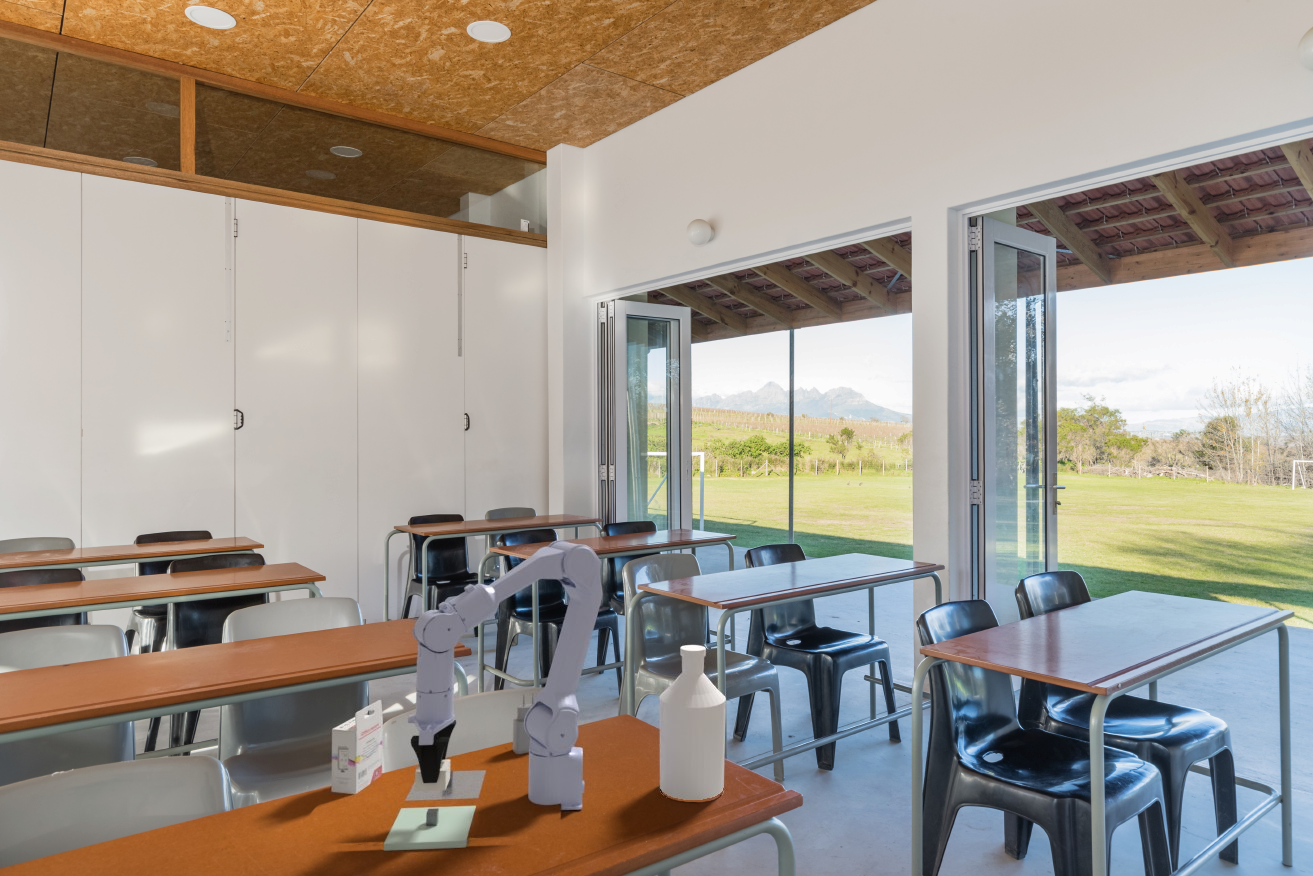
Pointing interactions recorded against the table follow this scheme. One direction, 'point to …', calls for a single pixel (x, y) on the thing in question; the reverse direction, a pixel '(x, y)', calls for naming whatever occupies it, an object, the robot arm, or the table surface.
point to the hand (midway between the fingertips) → (433, 775)
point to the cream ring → (441, 783)
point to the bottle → (692, 732)
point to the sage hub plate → (430, 828)
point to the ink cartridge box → (357, 751)
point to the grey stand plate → (453, 787)
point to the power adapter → (521, 729)
